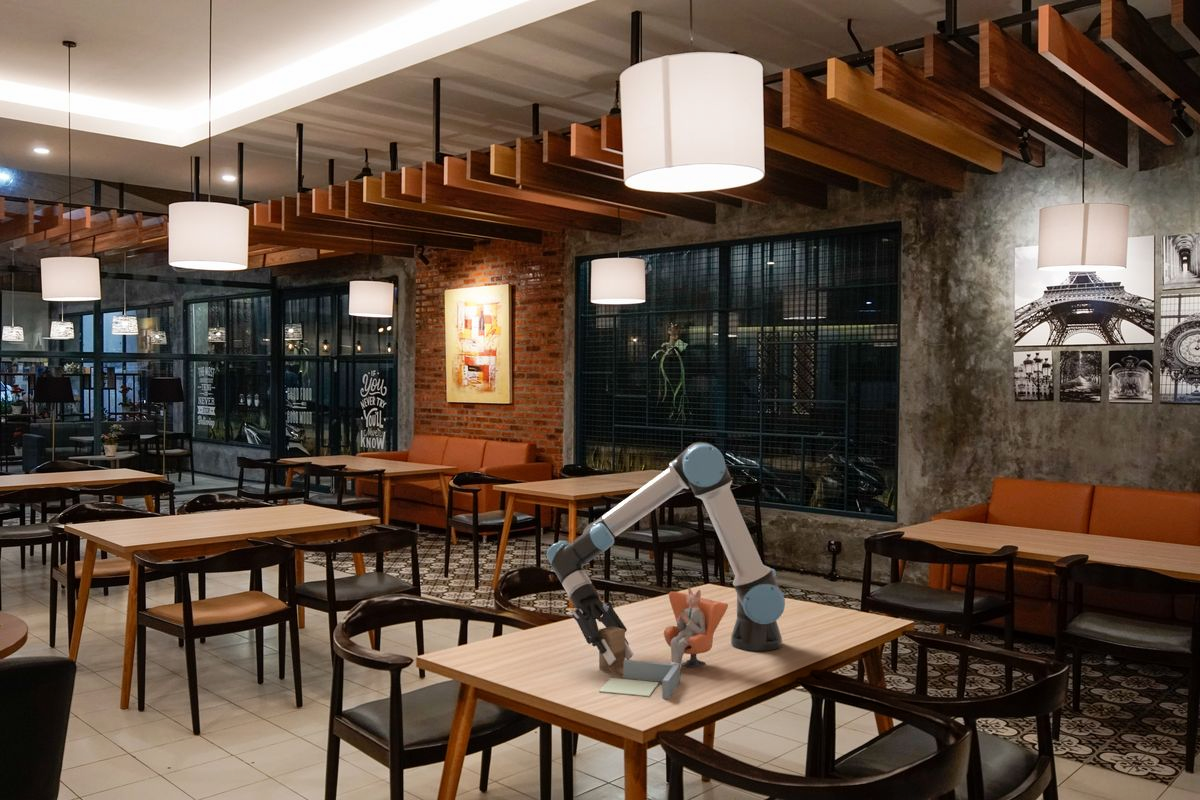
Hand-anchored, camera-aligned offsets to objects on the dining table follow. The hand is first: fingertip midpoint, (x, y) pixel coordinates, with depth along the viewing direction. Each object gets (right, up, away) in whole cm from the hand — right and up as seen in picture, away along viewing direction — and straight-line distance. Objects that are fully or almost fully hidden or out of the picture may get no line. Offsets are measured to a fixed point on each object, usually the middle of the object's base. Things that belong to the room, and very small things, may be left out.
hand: (621, 659), depth 251 cm
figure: (+18, -4, +5) cm, 19 cm away
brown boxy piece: (-1, -3, +1) cm, 4 cm away
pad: (+2, -3, -13) cm, 14 cm away
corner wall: (+7, -3, -13) cm, 15 cm away
